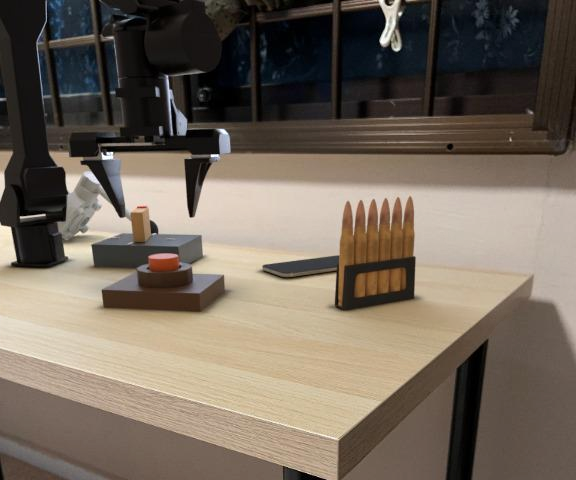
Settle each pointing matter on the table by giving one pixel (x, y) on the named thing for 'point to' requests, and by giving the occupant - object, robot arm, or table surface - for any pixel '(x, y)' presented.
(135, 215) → the block
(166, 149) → the robot arm
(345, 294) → the ammunition clip
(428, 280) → the table surface
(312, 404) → the table surface
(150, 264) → the button
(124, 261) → the panel
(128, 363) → the table surface
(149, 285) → the button box
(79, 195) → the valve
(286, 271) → the smartphone
